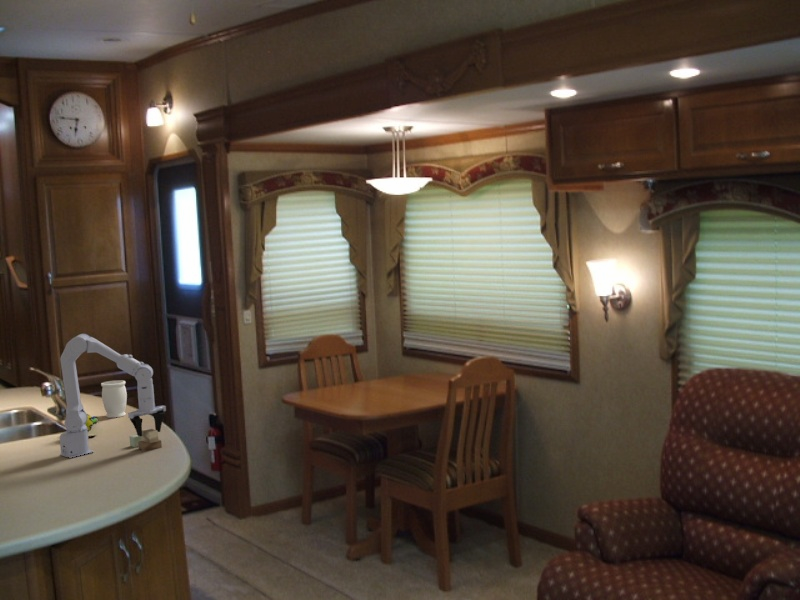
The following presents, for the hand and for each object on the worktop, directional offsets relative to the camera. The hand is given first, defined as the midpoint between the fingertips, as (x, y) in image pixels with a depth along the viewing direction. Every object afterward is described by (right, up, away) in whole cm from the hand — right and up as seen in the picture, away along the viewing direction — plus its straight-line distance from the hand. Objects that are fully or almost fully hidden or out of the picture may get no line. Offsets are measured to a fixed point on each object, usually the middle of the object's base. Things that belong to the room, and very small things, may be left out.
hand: (149, 433), depth 336 cm
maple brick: (0, -3, 0) cm, 3 cm away
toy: (-34, -4, +33) cm, 48 cm away
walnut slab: (0, -6, +1) cm, 6 cm away
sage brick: (-5, -5, +6) cm, 9 cm away
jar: (-31, -1, +60) cm, 68 cm away
